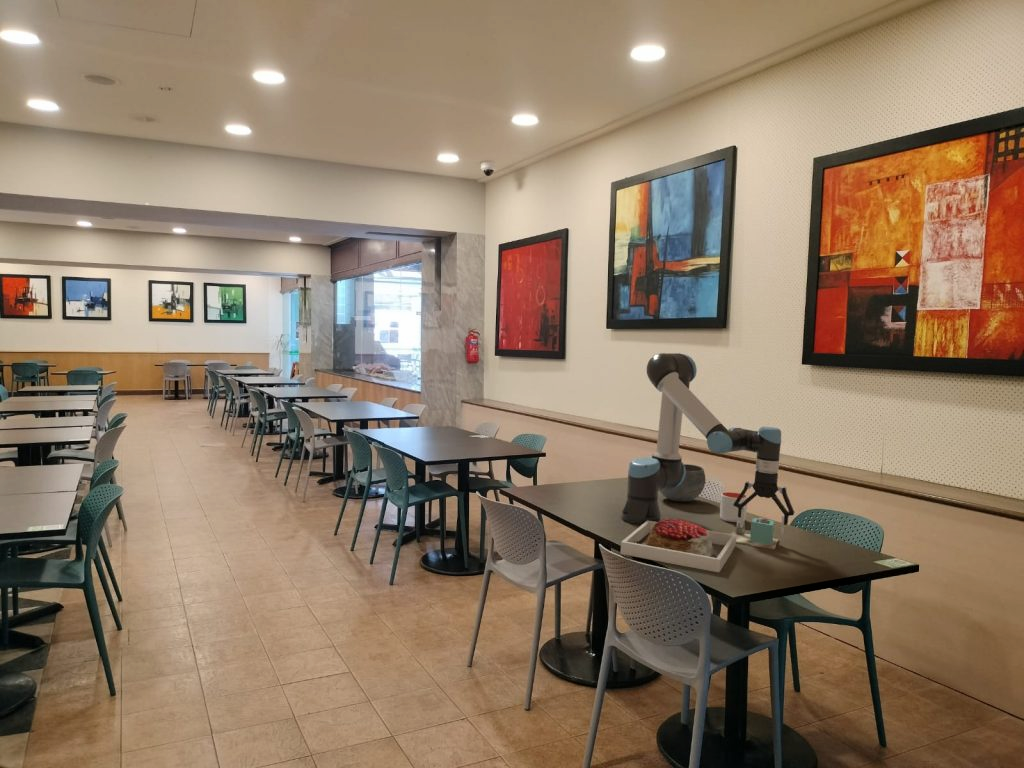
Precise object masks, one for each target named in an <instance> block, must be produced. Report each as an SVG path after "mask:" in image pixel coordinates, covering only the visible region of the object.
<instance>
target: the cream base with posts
mask: <svg viewBox="0 0 1024 768" xmlns="http://www.w3.org/2000/svg"><path fill="white" fill-rule="evenodd" d="M767 520H768V518H765V517H759V523H766V524H767ZM745 528H746V522H745V521H744V524H743V527H742V528H741V527H740V521H737V523H736V529H735V531H732V532H731V533H730V534H733V535H736V544H740V545H746V546H751V547H758V548H762V549H763V548H764V549H769V550H774V549H775V550H776V547H777V544H778V542H779V538H774V537H773V542H772V544H771V545H767V544H761V543H755V542H750V535H751V533H750V534H749V533H748V534H747V533H745Z"/></svg>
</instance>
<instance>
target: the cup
mask: <svg viewBox="0 0 1024 768" xmlns="http://www.w3.org/2000/svg"><path fill="white" fill-rule="evenodd" d="M740 493H741V492H740ZM740 493H739V492H733V491H732V492H725V491H724V492H722V493H721V494H720V507H719V517H720V519H721V520H723V521H725V522H727V523H736V524H737V521H741V518H740V517H738V508H737V507H736V506H734V505H733V504H734V502H735V501H736V499H737V498H738V496H739V495H740ZM748 497H749V496H747V495H746V494H744V496H743V497H742V499H741V500H740V502H739V504H741V503H742V502H744V501H745V500H746V499H747V498H748ZM743 508H745V512H744V522H745V521H746V520H747V511H748V510H747V509H748V503H747V504H746V505H745V506H744V507H743Z"/></svg>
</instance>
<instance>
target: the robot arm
mask: <svg viewBox="0 0 1024 768" xmlns="http://www.w3.org/2000/svg"><path fill="white" fill-rule="evenodd" d="M646 375H647V377H648V380H649V381H650V383H651V384H652V385H653V386H654V388H655V389H657V391H658V392H660V393H661V401H660V411H659V420H658V421H659V422H658V423H659V424H658V431H657V441H656V450H655V451H654V452H652V454H651V457H639V458H634V459H632V460H631V461H630V462H629V465H628V470H627V474H628V475H627V493H626V500H625V503H624V506H623V507H622V510H621V516H620V518H621V519H622V520H623V521H624V522H627V523H632V524H636V525H642V524H644V523H645V522H646V521H647V520H648V521H654V522H659V521H661V520H662V514H661V510H660V506H659V502H658V498H659V497H658V496H659V492H660V491H659V490H664V489H672V488H674V487H677V486H679V485H680V484H681V483H682V482H683V481H684V479H685V476H686V469H685V466H684V462H683V461H682V460H683V459H682V458H683V457H682V456H681V454H680V453H679V451H680V439H681V431H682V422H683V421H682V420H683V415H684V416H685V417H686V418H687V419H688V420H689V421H690V422H691V423H692V425H694V427H695V428H696V429H697V430H698V431H699V432H700V433H701V434H702V436H704V438H705V439H706V444H707V448H708V450H709V451H711V452H712V453H714V454H726V453H732V452H739V451H740V452H741V451H746V452H747V451H748V452H753V453H756V460H755V461H756V462H755V469H756V471H754V472H755V474H754V482H753V483H752V482H750V481H749V480H747V481H746V482H745V483H744V486H743V490H742V491H741V492H740V495H739V496H738V498H737V499H736V501H735V502H734V504H733V505H734V506H736V507H737V508H738V517H740V518H741V521H740V527H741V528H742V527H743V524H744V522H745V521H744V512H745V508H743V507H744V506H745V505H746V504H747V505H748V503H750V501H752V500H753V499H755V497H757V496H758V497H759V498H766V499H772V501H774V503H775V504H776V506H777V507H778V508H779V510H780V511H781V513H782V516H781V523H780V524H781V525H780V535H782V536H783V535H784V531H785V530H784V529H785V526H788V523H789V516H794V514H795V510H794V508H793V506H792V503H791V500H790V498H789V496H788V494H787V492H788V491H787V486H780V487H779V486H778V477H779V474H778V472H779V470H780V469H779V468H780V456H781V455H780V453H781V445H782V431H781V429H780V428H777V427H775V426H772V427H771V426H761V427H759V429H758V430H752V429H751V430H750V429H746V428H741V427H730V428H729V429H727V427H726V426H724V425H723V423H722V422H721V421H720V420H719V419H718V418H717V417H716V416H715V415H714V414H713V412H711V411H710V410H709V409H708V408H707V407H706V406H705V404H704V403H703V402H702V401H701V400H700V399H699V398H698V397H697V396H696V395H695V394H694V393H693V392H692V391H691V390H690V384H691V382H692V381H694V379H695V378H696V376H697V366H696V363H695V360H693V358H692V357H691V356H689V355H688V354H685V353H680V352H679V353H677V352H676V353H674V352H673V353H672V352H671V353H663V352H661V353H657V354H654V355H653V356H652V357H651V358H650V359H649V360H648V362H647V364H646ZM751 488H752V489H753V490H754V491H753V493H752V494H750V495H749V496H747V497H748V498H747V499H746V500H745V501H744V502H742V503H741V504H739V502H740V500H741V499H742V497H743V496H744V495H746V492H747V491H748V490H750V489H751ZM777 492H779V493H780V494H781V496H782V497H783V500H784V503H785V505H786V507H787V509H788V510H787V509H786V507H785V505H784V504H783V502H781V500H780V499H779V497H778V496H777V494H776V493H777Z"/></svg>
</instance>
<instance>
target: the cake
mask: <svg viewBox="0 0 1024 768" xmlns="http://www.w3.org/2000/svg"><path fill="white" fill-rule="evenodd" d="M706 530H707V529H705V528H704V527H702V526H700V525H698V524H696V523H694V522H689V521H687V520H682V519H678V518H665V519H661V521H659V522H657V523H656V524H655V525H654V526H653V528H652V530H651V532H649V533H648V536H647V538H646V539H645V540H643V541H642V542H640V544H642V545H647V546H653V547H659V548H664V549H670V550H675V551H681V552H686V553H692V554H697V555H703V556H708V557H713V555H714V548H713V543H712V541H711V536H710V534H709V533H708V532H707V531H706ZM634 543H635V542H634ZM637 544H639V542H638V541H637Z"/></svg>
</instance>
